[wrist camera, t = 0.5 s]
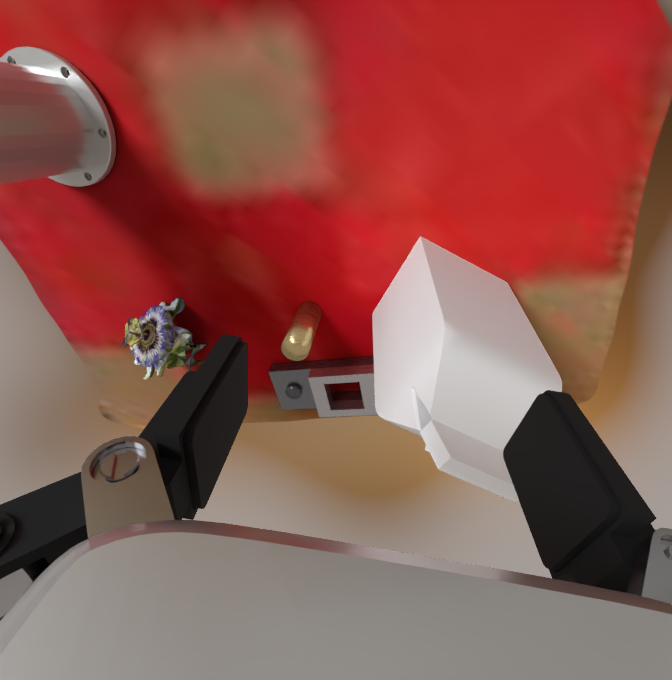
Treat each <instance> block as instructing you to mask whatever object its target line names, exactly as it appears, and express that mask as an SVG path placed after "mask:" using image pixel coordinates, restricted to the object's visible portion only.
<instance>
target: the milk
mask: <svg viewBox="0 0 672 680" xmlns="http://www.w3.org/2000/svg"><path fill="white" fill-rule="evenodd" d="M372 322H373V356H374V389H375V409H376V412H377V414H378V415H379V416H380V417H381V418H383V419H384V420H386V421H387V422H389V423H392V424H394V425H396V426H398V427H401V428H403V429H405V430H407V431H410V432H412V433H414V434H416V435H419V436H421V437H423V440H424V442H425V444H426V447H425V450H426V451H428V452H430V454H431V456H432V458H433V460H434V462H435V464H436V466H437V468H438V470H440V471H443V472H445V473H447V474H450V475H452V476H454V477H457V478H459V479H461V480H464V481H466V482H468V483H471V484H473V485H475V486H478V487H480V488H483V489H485V490H487V491H489V492H492V493H494V494H497V495H498V496H501V497H503V498H505V499H508V500H510V501H512V502H515V503H516V502H517V501H519V499H518V496H517V493H516V491H515V488H514V485H513V483H512V480H511V477H510V475H509V472H508V469H507V467H506V464H505V461H504V458H503V451H504V448H505V446H506V444H507V443H508V441H509V440H510V438H511V436H512V435H513V433H514V432H515V430H516V429H517V427H518V425H519V424H520V422H521V421H522V419H523V418H524V416H525V414H526V413H527V411H528V410H529V408H530V407H531V405H532V403H533V402H534V400H535V399H536V397H537V396H538V395H539V394H543V393H544V392H545V391H547V390H551V391H557V392H562V381H561V378H560V375H559V373H558V371H557V370H556V368H555V366H554V364H553V363H552V361H551V359H550V357H549V355H548V354H547V352H546V350H545V348H544V347H543V345H542V343H541V341H540V339H539V338H538V336H537V334H536V332H535V331H534V329H533V327H532V325H531V323H530V322H529V320H528V318H527V316H526V315H525V313H524V311H523V309H522V307H521V306H520V304H519V302H518V300H517V299H516V297H515V295H514V293H513V292H512V290H511V288H510V286H509V284H508V283H507V282H505V281H504V280H502V279H500V278H498V277H496V276H494V275H492V274H490V273H489V272H487V271H485V270H483V269H481V268H479V267H477V266H475V265H474V264H472V263H470V262H468V261H466V260H464V259H462V258H460V257H458V256H457V255H455V254H453V253H451V252H449V251H447V250H445V249H443V248H442V247H440V246H438V245H436V244H434V243H432V242H430V241H428V240H427V239H425V238H423V237H421V236H420V238H419V239H418V241H417V242H416V244H415V246H414V247H413V249H412V250H411V252H410V254H409V255H408V257H407V259H406V260H405V262H404V263H403V265H402V267H401V268H400V270H399V271H398V273H397V275H396V276H395V278H394V280H393V281H392V283H391V284H390V286H389V288H388V289H387V291H386V292H385V294H384V296H383V297H382V299H381V301H380V302H379V304H378V305H377V307H376V309H375V310H374V312H373V313H372Z"/></svg>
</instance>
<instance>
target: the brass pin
mask: <svg viewBox="0 0 672 680" xmlns="http://www.w3.org/2000/svg"><path fill="white" fill-rule="evenodd" d="M321 315H322V311H321V309H320V307H319V306H318V305H317V304H315V303H313V302H305V303H303V304H301V305H300V307H299V309H298V311H297V313H296V315H295V317H294V320H293V322H292V324H291V326H290V328H289V330H288V332H287V334H286V336H285V338H284V341H283V343H282V345H281V350H282V353H283V354H284V355H285V356H286V357H287V358H288V359H290V360H293V361H301V360H303V359H305V358H306V357H307V356H308V353H309V351H310V348H311V345H312V342H313V339H314V336H315V333H316V330H317V327H318V324H319V321H320V318H321Z"/></svg>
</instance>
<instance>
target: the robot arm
mask: <svg viewBox="0 0 672 680" xmlns="http://www.w3.org/2000/svg"><path fill="white" fill-rule="evenodd" d="M115 156H116V138H115V131H114V127H113V124H112V120H111V117H110V115H109V113H108V110H107V108H106V106H105V104H104V102H103V100H102V98H101V97H100V95H99V93H98V92H97V90H96V89H95V88H94V86H93V85H92V84H91V82H90V81H89V80H88V79H87V78H86V77H85V76H84V75H83V74H82V73H81V72H80V71H79V70H78V69H77V68H76V67H75V66H74V65H72V64H71V63H70V62H68V61H67V60H66V59H64V58H62V57H61V56H59V55H57V54H55V53H53V52H50V51H47V50H44V49H40V48H34V47H17V48H14V49H12V50H9V51H8V52H6V53H5V54H4V55H3V56H2V57H1V58H0V185H1V184H7V183H13V182H19V181H25V180H31V179H37V178H43V177H48V178H50V179H52V180H54V181H56V182H58V183H61V184H64V185H68V186H74V187H82V186H89V185H92V184H96V183H98V182H100V181H101V180H103V179H104V178H105V177H106V176H107V175H108V174H109V173H110V171H111V169H112V167H113V165H114V160H115ZM247 408H248V345H247V343H245V342H242V338H241V337H237V336H231V335H225V334H224V335H222V336H221V337H220V339H219V340H218V341H217V343H216V344H215V346H214V347H213V349H212V350H211V351H210V353H209V354H208V356H207V357H206V359H205V360H204V361H203V363H202V364H201V366H200V367H199V369H198V370H197V371H188V372H187V373H186V374H185V375H184V376H183V377H182V379H181V380H180V381H179V383H178V384H177V386H176V387H175V388H174V390H173V391H172V392H171V394H170V395H169V396H168V398H167V399H166V400H165V402H164V403H163V404H162V406H161V407H160V409H159V410H158V411H157V413H156V414H155V415H154V417H153V418H152V419H151V421H150V422H149V423H148V425H147V426H146V427H145V429H144V430H143V432H142V433H141V434H140V436H139V437H135V436H125V437H120V438H116V439H113V440H110V441H108V442H106V443H103V444H102V445H100V446H99V447H97V448H96V449H94V450H93V451H92V452H91V453H90V455H89V456H88V457H87V458H86V460H85V462H84V463H83V465H82V469H81V472H79V473H77V474H74V475H72V476H69V477H67V478H65V479H62V480H60V481H57V482H55V483H52V484H50V485H47V486H45V487H43V488H40V489H38V490H35V491H33V492H30V493H28V494H26V495H23V496H21V497H18V498H16V499H14V500H11V501H8V502H6V503H3V504H1V505H0V680H672V529H668V528H660V529H657V530H654V528H653V527H652V525H651V524H650V523H651V522H653V521H654V520H655V519H656V517H655V516H654V514H653V513H652V511H651V510H650V509H649V507H648V506H647V504H646V503H645V501H644V500H643V499H642V497H641V496H640V495H639V493H638V491H637V490H636V489H635V487H634V486H633V484H632V483H631V481H630V480H629V479H628V477H627V476H626V474H625V473H624V471H623V470H622V468H621V467H620V466H619V464H618V463H617V461H616V460H615V459H614V457H613V456H612V454H611V453H610V451H609V450H608V448H607V447H606V446H605V444H604V443H603V441H602V440H601V438H600V437H599V436H598V434H597V433H596V431H595V430H594V428H593V427H592V426H591V424H590V423H589V421H588V420H587V418H586V417H585V416H584V414H583V413H582V411H581V410H580V408H579V407H578V406H577V404H576V403H575V401H574V400H573V398H572V397H571V396H570V395H569V394H567V393H563V392H557V391H551V390H547V391H545V392H544V393H543V394H539V395H538V396H537V397H536V399H535V400H534V402H533V403H532V405H531V407H530V408H529V410H528V411H527V413H526V414H525V416H524V418H523V419H522V421H521V422H520V424H519V425H518V427H517V429H516V430H515V432H514V433H513V435H512V436H511V438H510V440H509V441H508V443H507V444H506V446H505V448H504V451H503V458H504V461H505V464H506V467H507V469H508V472H509V475H510V477H511V480H512V483H513V485H514V488H515V491H516V493H517V496H518V499H519V501H520V504H521V507H522V509H523V512H524V515H525V517H526V520H527V523H528V525H529V528H530V531H531V533H532V536H533V539H534V541H535V544H536V547H537V549H538V552H539V555H540V557H541V560H542V562H543V564H544V566H545V567H546V568H548V569H549V571H550V573H551V576H552V579H551V578H545V577H540V576H535V575H529V574H523V573H518V572H512V571H507V570H501V569H495V568H490V567H484V566H478V565H473V564H467V563H461V562H455V561H449V560H444V559H438V558H432V557H426V556H421V555H415V554H409V553H404V552H397V551H392V550H386V549H380V548H375V547H369V546H363V545H357V544H351V543H344V542H339V541H333V540H327V539H321V538H315V537H309V536H303V535H297V534H291V533H285V532H279V531H272V530H265V529H259V528H252V527H245V526H239V525H232V524H225V523H215V522H206V521H195V520H193V519H194V516H195V514H196V512H197V510H198V508H201V509H203V508H205V506H206V504H207V502H208V500H209V497H210V495H211V493H212V491H213V488H214V486H215V484H216V481H217V479H218V477H219V475H220V472H221V470H222V467H223V465H224V463H225V461H226V458H227V456H228V454H229V451H230V449H231V447H232V445H233V442H234V440H235V438H236V435H237V433H238V431H239V429H240V426H241V424H242V422H243V419H244V417H245V415H246V412H247ZM182 518H186V519H192V520H182Z"/></svg>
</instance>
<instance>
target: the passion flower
mask: <svg viewBox="0 0 672 680" xmlns="http://www.w3.org/2000/svg"><path fill="white" fill-rule="evenodd" d="M184 307H185V303H184V300H183V299H182V298H176V300H173V301H172V302H171V305H170V306H168V304H167V303H165V302H161V303H160V305H157V306H154V307H153V308H150V310H148V312H145V317H142V316H141V317H140V319H139V320H138V318H135V319H133V318H130V319H129V321H128V323H127V324H126V326H125V335H126V336H125V338H124V340H123V343H122V346H123V347H126V346H127V345H128V344H129V345H131V346H129V347H130V349H131V350H132V351H131V352H135V353H134V356H135V357H134V359H135V361H134V363H135V364H136V365H143V366H145V368H146V366H147V374H146V376H145V377H144V378H143V379H145V380H147V379H149V378H151V377H152V375H153V373H154V369H155V370H156V371H157V375H158V376H160V377H161V376H162V375H163V373H164V369H165V366H166V364H168V366H167V368H169V369H171V368H173V367H177V366H182V367H184V365H185V363H187V364H188V365H189V368H188V371H190V367H191V366H192V365H198V364H202V363H203V361H199V360H194V359H193V355H194V354H195V353H196V352H197V351H199V350H200V349H202V348H203V347H204V346H206V345H207V344H200V343H196V342H194V343H193V342H192V333H191V332H190V331H189V330H188V329H184V328H181V327H177V326H176V325H174V323H173V320H174V318H175V316H176V315H177V314H178V313H180V312H182V310H183V309H184ZM189 349H192V352H191V356H190V358H187V357H186V356H185V355H186V354H187V353H188V350H189ZM131 352H130V353H131Z"/></svg>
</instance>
